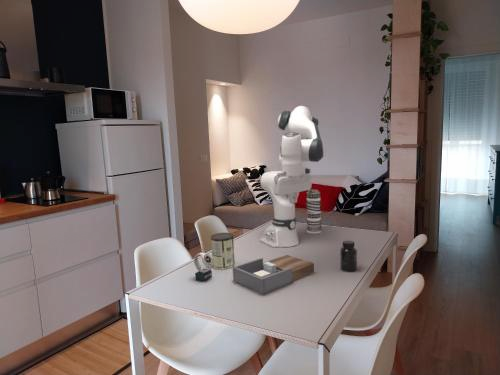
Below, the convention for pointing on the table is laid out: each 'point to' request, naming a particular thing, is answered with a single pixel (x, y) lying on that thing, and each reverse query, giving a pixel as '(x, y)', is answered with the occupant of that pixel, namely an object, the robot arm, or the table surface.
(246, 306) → the table surface
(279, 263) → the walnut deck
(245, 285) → the box
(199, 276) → the watch
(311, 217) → the decorative candle
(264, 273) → the cream tile
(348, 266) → the supplement bottle
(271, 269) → the pale blue brick
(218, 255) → the coffee can
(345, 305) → the table surface
